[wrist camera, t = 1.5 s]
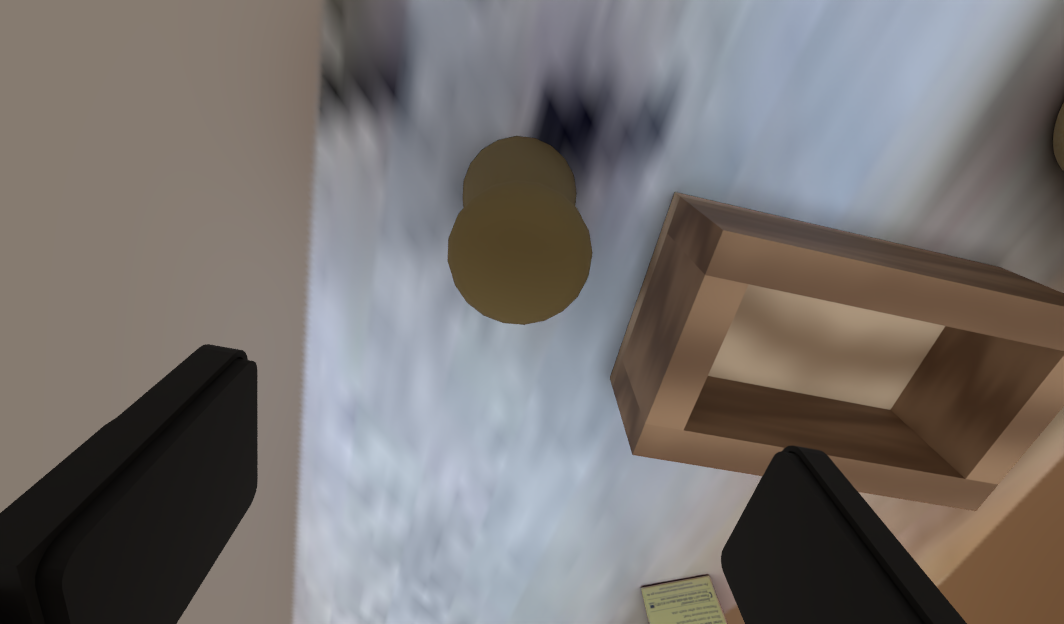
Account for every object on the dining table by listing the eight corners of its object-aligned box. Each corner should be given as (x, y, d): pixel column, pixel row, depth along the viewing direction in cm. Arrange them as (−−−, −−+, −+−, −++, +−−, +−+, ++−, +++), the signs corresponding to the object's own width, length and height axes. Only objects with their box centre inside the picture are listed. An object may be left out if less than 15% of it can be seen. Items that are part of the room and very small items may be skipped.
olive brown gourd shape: (489, 265, 28) (473, 371, 18) (443, 162, 26) (395, 220, 16) (591, 227, 27) (632, 317, 17) (554, 117, 25) (577, 149, 15)
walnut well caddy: (674, 191, 27) (723, 230, 20) (999, 267, 29) (1133, 322, 23) (609, 378, 32) (632, 454, 25) (891, 429, 34) (975, 510, 28)
